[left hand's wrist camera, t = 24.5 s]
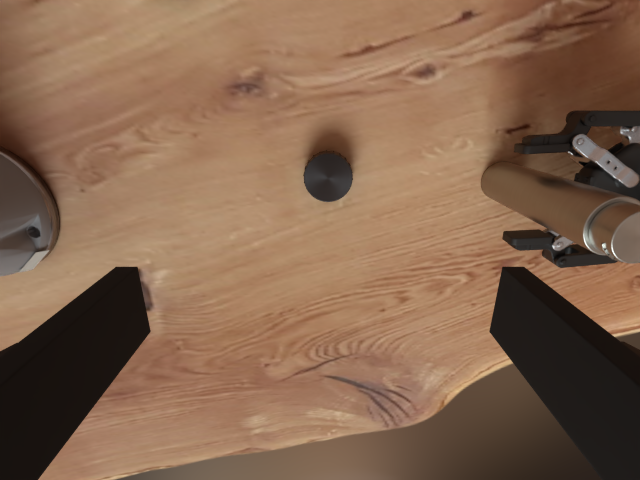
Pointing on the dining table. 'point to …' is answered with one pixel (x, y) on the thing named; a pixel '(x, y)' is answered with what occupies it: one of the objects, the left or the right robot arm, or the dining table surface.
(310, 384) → the dining table surface
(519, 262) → the dining table surface
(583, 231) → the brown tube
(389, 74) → the dining table surface
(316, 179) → the lid
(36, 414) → the left robot arm
